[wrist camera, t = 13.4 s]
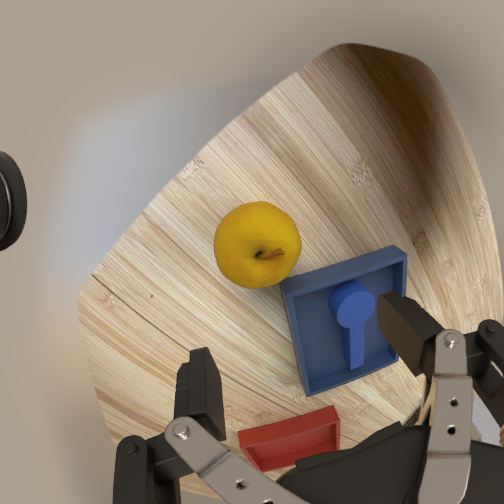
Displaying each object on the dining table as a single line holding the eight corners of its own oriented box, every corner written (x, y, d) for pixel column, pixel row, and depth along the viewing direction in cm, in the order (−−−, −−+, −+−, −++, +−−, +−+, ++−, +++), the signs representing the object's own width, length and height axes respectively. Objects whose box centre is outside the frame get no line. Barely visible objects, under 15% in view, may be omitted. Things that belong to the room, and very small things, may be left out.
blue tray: (301, 383, 33) (306, 397, 31) (278, 280, 27) (285, 294, 25) (389, 349, 34) (398, 361, 31) (394, 244, 27) (407, 253, 25)
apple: (294, 202, 24) (329, 229, 17) (274, 267, 26) (296, 315, 19) (223, 184, 23) (228, 204, 16) (206, 254, 25) (205, 301, 18)
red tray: (257, 460, 42) (259, 473, 39) (237, 431, 36) (239, 447, 34) (334, 438, 42) (339, 451, 39) (333, 404, 37) (339, 419, 34)
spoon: (365, 349, 32) (373, 361, 30) (333, 361, 32) (340, 374, 30) (364, 274, 28) (375, 285, 25) (326, 287, 27) (335, 299, 25)
